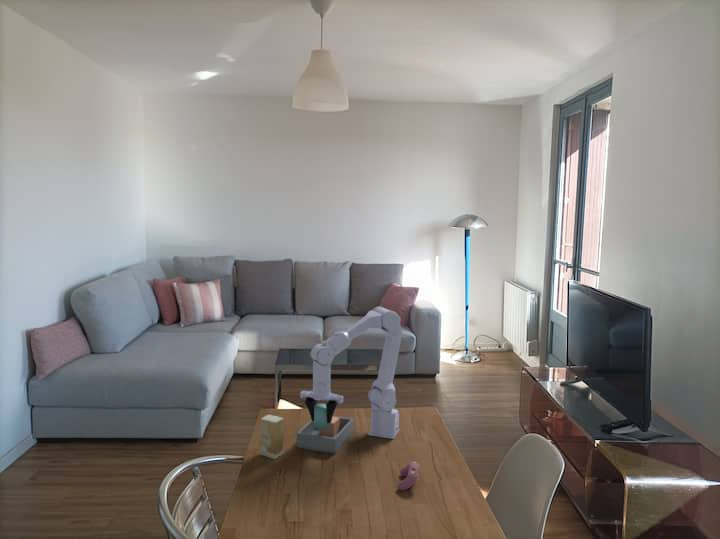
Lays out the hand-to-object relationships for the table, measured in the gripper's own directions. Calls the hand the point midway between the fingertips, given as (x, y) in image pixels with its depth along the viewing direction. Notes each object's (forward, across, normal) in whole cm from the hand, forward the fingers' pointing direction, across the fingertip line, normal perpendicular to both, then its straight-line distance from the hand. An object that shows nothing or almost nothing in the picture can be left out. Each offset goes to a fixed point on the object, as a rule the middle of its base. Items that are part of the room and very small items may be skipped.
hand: (321, 421), depth 183 cm
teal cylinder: (+2, 0, 0) cm, 2 cm away
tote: (+8, 0, +4) cm, 9 cm away
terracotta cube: (+7, 0, +8) cm, 11 cm away
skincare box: (+8, -12, -12) cm, 19 cm away
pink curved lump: (+8, +33, -15) cm, 37 cm away
